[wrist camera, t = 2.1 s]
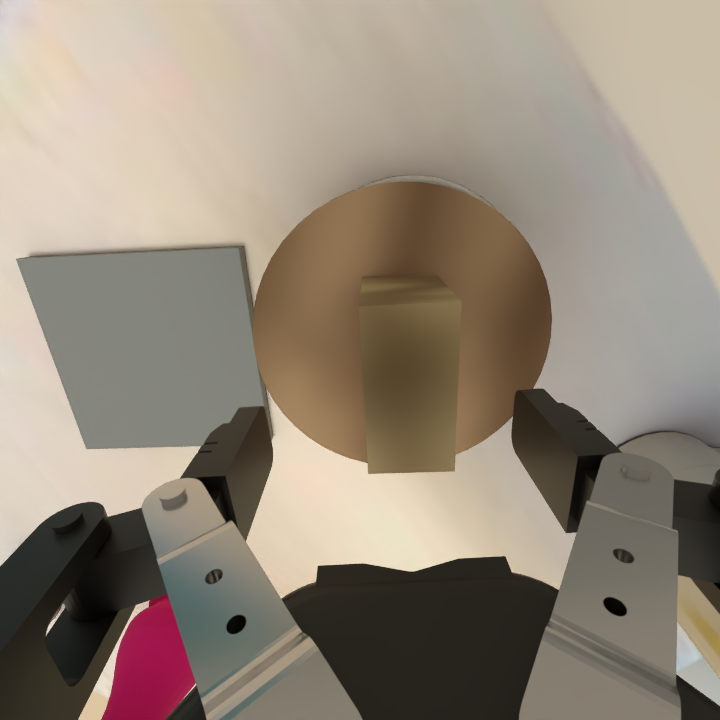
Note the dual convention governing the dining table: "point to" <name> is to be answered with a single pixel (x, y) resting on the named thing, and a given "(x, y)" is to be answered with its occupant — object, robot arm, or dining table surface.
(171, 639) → the pepper mill
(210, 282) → the mat
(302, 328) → the lid
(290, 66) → the dining table surface
